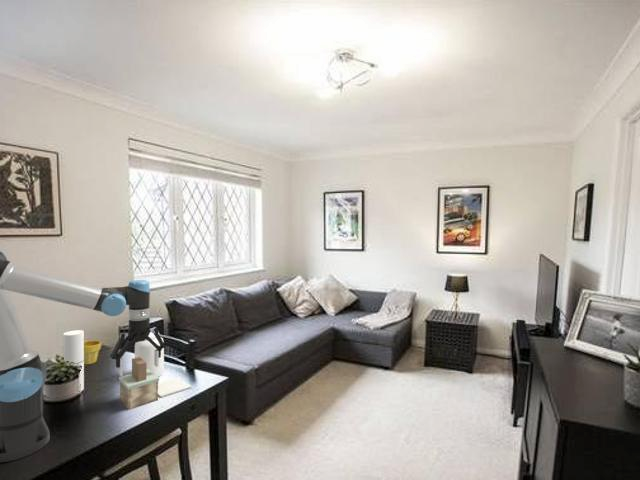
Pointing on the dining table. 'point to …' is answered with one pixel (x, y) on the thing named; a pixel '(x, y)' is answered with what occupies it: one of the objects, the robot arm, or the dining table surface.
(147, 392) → the storage box
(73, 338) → the cylindrical container
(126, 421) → the dining table surface
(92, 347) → the plant pot
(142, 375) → the lid
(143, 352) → the white jar
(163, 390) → the felt mat
